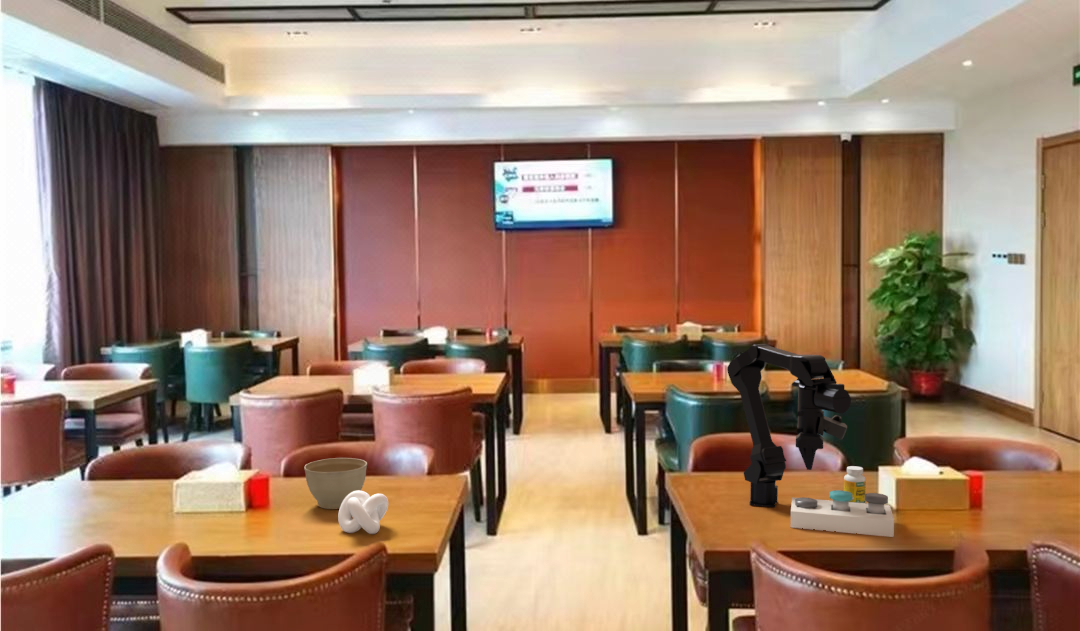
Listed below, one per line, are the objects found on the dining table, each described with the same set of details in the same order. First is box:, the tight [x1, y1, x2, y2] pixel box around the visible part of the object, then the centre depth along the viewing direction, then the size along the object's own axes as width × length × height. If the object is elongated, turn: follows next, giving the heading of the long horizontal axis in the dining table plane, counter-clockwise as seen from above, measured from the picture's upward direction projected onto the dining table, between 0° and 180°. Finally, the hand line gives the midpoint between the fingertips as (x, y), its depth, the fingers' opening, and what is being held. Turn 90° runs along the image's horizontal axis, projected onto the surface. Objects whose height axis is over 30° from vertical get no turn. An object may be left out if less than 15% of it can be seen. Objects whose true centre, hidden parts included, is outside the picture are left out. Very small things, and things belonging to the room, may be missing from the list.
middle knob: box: [829, 489, 852, 511], centre depth 203 cm, size 5×5×5 cm
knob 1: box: [795, 497, 817, 509], centre depth 206 cm, size 5×5×5 cm
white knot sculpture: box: [337, 490, 389, 535], centre depth 200 cm, size 11×12×9 cm
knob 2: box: [865, 492, 889, 515], centre depth 200 cm, size 5×5×5 cm
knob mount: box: [790, 496, 895, 538], centre depth 203 cm, size 23×12×4 cm, turn 72°
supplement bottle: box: [843, 465, 867, 503], centre depth 220 cm, size 5×5×10 cm
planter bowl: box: [304, 457, 368, 510], centre depth 222 cm, size 16×16×11 cm
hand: (809, 469), depth 205 cm, fingers closed
